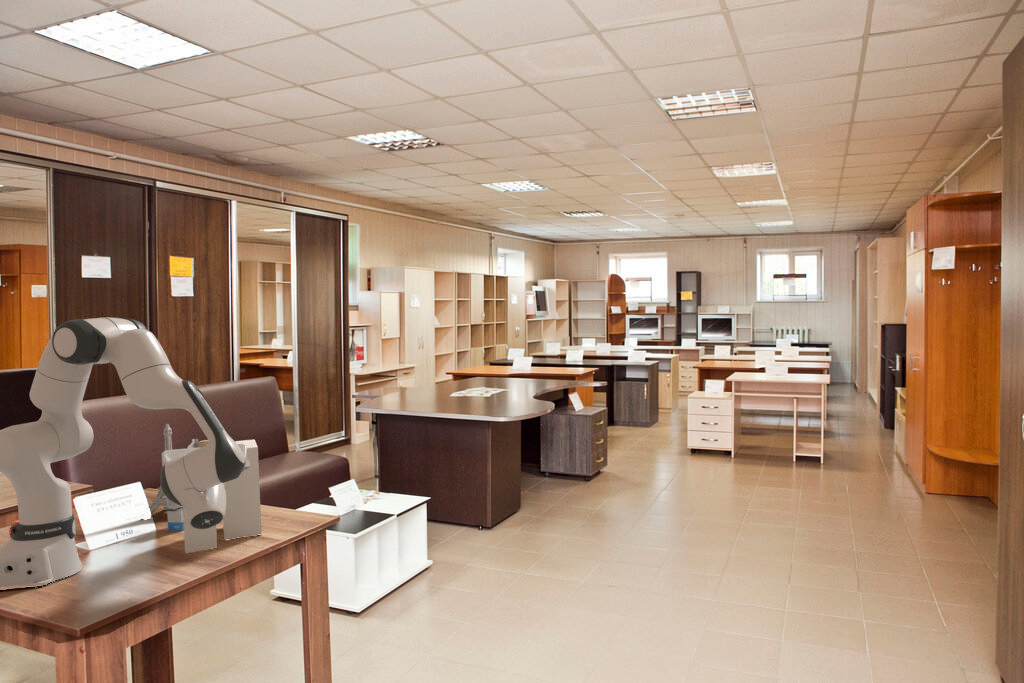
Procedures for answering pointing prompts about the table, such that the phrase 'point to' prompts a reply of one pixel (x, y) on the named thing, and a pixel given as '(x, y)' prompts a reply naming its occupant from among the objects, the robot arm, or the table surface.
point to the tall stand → (244, 499)
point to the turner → (203, 443)
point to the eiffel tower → (160, 497)
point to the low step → (198, 537)
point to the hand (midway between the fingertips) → (204, 439)
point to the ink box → (175, 516)
